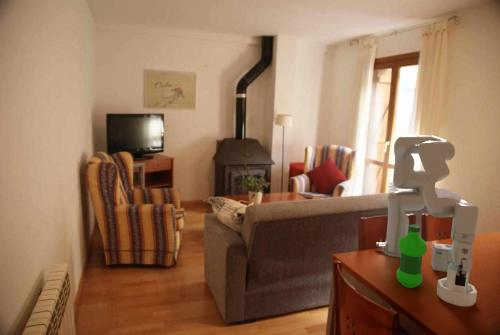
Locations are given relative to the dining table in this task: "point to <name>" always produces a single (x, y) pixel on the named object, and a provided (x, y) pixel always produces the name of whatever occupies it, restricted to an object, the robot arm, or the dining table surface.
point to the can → (451, 279)
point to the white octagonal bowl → (456, 294)
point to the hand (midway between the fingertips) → (457, 280)
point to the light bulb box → (441, 257)
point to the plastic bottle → (411, 257)
